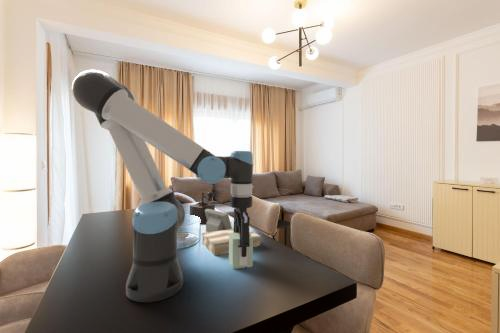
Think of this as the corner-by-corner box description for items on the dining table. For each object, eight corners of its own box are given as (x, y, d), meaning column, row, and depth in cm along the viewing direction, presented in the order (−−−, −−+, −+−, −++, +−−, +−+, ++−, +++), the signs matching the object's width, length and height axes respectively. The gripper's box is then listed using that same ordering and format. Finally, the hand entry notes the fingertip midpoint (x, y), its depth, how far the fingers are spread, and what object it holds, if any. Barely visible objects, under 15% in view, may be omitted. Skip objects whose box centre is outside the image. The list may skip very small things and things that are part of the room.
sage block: (252, 266, 85) (253, 237, 85) (232, 268, 83) (232, 239, 83) (247, 258, 92) (248, 231, 91) (228, 260, 90) (229, 233, 90)
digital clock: (234, 234, 120) (234, 212, 119) (218, 238, 114) (218, 215, 114) (216, 226, 132) (217, 206, 132) (201, 229, 127) (201, 208, 126)
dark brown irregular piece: (188, 222, 139) (188, 190, 138) (200, 218, 149) (201, 188, 148) (210, 226, 132) (211, 192, 131) (222, 221, 142) (222, 190, 141)
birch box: (260, 248, 104) (260, 236, 104) (214, 257, 94) (214, 244, 93) (244, 237, 116) (244, 227, 116) (201, 244, 106) (202, 233, 106)
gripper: (260, 200, 78) (259, 272, 79) (245, 191, 97) (244, 249, 98) (236, 201, 76) (235, 274, 77) (225, 191, 95) (225, 250, 96)
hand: (240, 260), depth 88 cm, fingers closed on sage block, 7 cm apart
